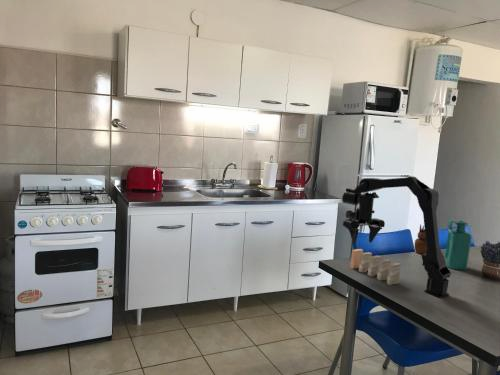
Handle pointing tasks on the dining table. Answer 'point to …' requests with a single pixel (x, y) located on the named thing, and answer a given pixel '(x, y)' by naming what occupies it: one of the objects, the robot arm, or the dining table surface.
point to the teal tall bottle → (457, 246)
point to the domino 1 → (355, 258)
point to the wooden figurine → (421, 242)
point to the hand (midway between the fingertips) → (362, 242)
